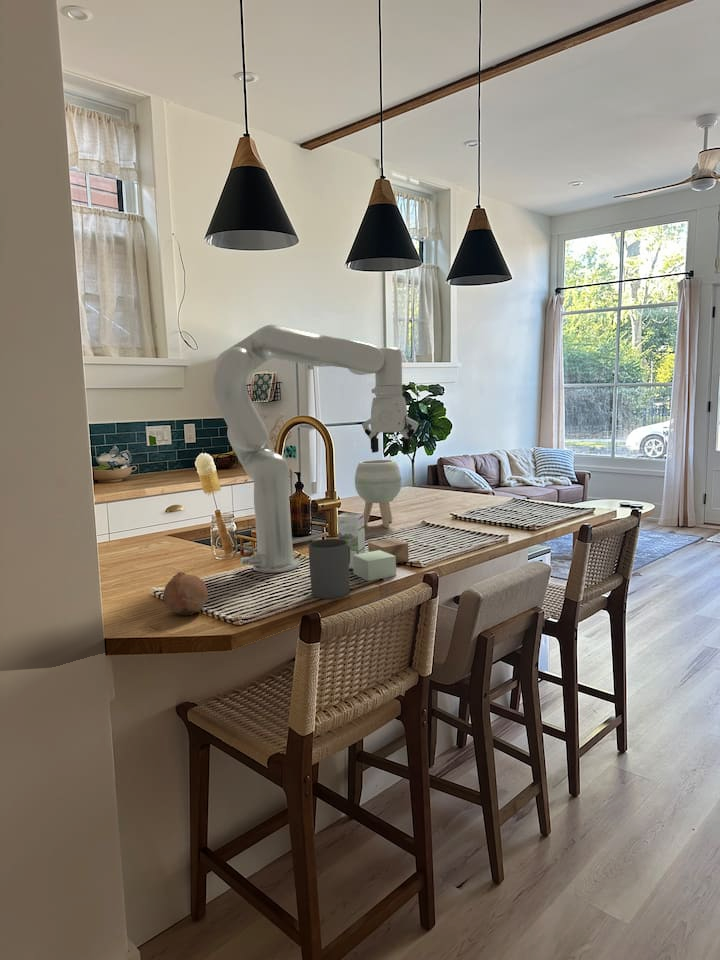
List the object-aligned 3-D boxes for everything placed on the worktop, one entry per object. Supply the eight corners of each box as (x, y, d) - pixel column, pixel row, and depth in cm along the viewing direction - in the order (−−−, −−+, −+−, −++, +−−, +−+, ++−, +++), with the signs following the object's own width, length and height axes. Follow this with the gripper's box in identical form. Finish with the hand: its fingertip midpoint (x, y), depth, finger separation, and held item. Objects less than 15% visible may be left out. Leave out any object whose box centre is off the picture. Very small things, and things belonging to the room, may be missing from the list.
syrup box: (366, 564, 177) (364, 511, 175) (359, 570, 172) (356, 516, 170) (347, 563, 179) (344, 511, 177) (339, 569, 174) (336, 515, 172)
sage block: (368, 580, 162) (367, 561, 161) (353, 573, 169) (352, 554, 168) (396, 575, 165) (395, 556, 165) (380, 568, 173) (379, 550, 172)
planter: (398, 519, 237) (395, 457, 234) (407, 528, 222) (404, 462, 219) (354, 522, 235) (351, 460, 232) (360, 531, 219) (357, 465, 216)
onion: (178, 623, 147) (167, 580, 149) (217, 609, 147) (206, 567, 149) (162, 622, 138) (151, 577, 140) (205, 607, 138) (193, 562, 140)
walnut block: (383, 565, 175) (382, 547, 175) (368, 559, 182) (368, 542, 182) (408, 560, 179) (407, 543, 178) (393, 555, 186) (392, 537, 185)
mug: (337, 601, 147) (334, 549, 146) (303, 596, 152) (300, 546, 150) (366, 584, 159) (364, 536, 157) (334, 580, 164) (332, 533, 162)
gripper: (355, 393, 186) (357, 453, 188) (412, 391, 178) (413, 454, 180) (367, 393, 192) (369, 451, 195) (422, 391, 185) (423, 451, 187)
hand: (390, 452), depth 187 cm, fingers open, 9 cm apart
